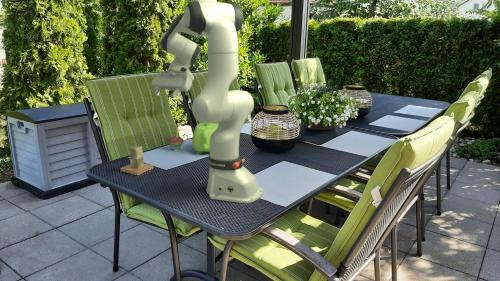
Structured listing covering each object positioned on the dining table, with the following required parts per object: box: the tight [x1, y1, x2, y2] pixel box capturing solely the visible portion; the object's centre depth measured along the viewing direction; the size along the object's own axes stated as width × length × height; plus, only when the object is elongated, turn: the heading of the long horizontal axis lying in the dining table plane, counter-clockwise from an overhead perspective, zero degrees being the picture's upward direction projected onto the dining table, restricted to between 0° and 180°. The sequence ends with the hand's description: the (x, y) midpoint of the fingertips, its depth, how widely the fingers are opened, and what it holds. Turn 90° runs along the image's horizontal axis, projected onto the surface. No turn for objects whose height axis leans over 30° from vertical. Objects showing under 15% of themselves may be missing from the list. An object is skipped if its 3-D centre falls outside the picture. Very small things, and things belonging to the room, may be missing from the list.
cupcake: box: [166, 128, 184, 151], centre depth 197 cm, size 9×8×12 cm
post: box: [128, 145, 145, 169], centre depth 166 cm, size 4×4×9 cm
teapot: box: [191, 122, 219, 154], centre depth 196 cm, size 25×22×16 cm
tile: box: [120, 162, 155, 176], centre depth 167 cm, size 10×10×2 cm
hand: (164, 96), depth 172 cm, fingers open, 8 cm apart
